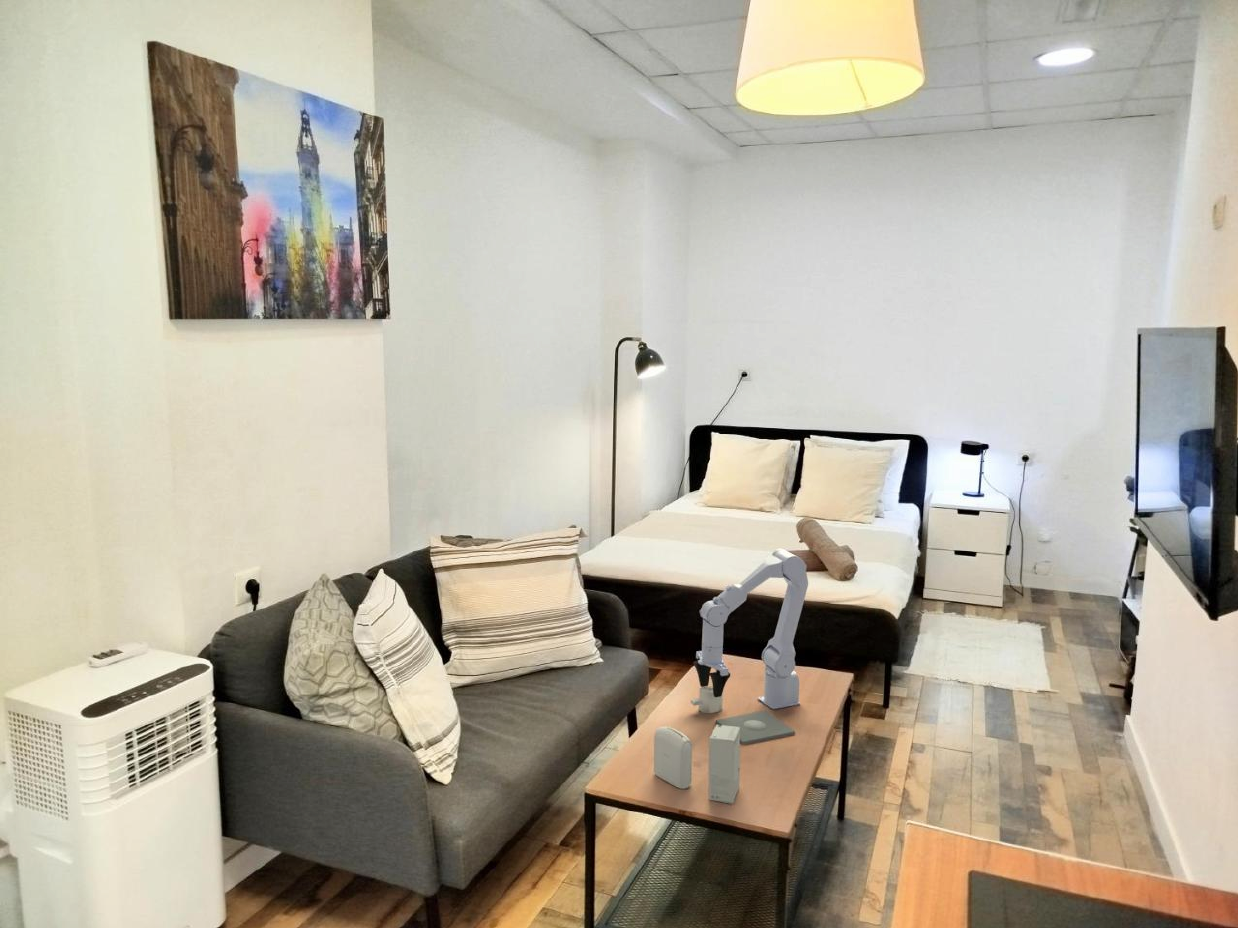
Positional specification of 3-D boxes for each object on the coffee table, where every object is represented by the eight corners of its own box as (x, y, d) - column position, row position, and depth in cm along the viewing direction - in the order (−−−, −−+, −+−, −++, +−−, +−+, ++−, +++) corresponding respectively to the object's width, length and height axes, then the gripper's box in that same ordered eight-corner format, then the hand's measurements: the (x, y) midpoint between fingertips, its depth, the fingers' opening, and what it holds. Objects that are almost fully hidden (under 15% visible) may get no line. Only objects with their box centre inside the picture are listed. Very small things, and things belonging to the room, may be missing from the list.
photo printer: (651, 773, 206) (651, 724, 204) (664, 768, 208) (665, 720, 207) (680, 791, 198) (681, 740, 196) (694, 785, 200) (695, 735, 199)
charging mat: (765, 713, 240) (765, 709, 240) (795, 734, 228) (795, 730, 227) (715, 722, 234) (715, 719, 234) (743, 744, 221) (743, 741, 221)
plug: (717, 704, 245) (718, 684, 245) (725, 710, 242) (725, 689, 241) (688, 709, 242) (689, 689, 241) (695, 715, 238) (696, 694, 237)
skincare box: (733, 804, 192) (735, 741, 190) (706, 800, 194) (708, 737, 192) (739, 786, 200) (741, 725, 198) (714, 782, 202) (715, 722, 200)
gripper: (687, 637, 245) (685, 683, 246) (712, 655, 231) (711, 703, 233) (709, 635, 247) (707, 680, 249) (735, 651, 234) (733, 699, 236)
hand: (710, 691), depth 241 cm, fingers open, 7 cm apart
